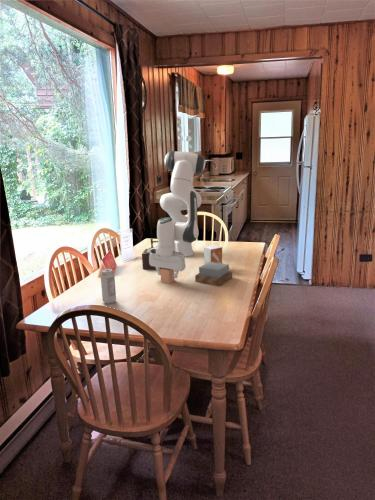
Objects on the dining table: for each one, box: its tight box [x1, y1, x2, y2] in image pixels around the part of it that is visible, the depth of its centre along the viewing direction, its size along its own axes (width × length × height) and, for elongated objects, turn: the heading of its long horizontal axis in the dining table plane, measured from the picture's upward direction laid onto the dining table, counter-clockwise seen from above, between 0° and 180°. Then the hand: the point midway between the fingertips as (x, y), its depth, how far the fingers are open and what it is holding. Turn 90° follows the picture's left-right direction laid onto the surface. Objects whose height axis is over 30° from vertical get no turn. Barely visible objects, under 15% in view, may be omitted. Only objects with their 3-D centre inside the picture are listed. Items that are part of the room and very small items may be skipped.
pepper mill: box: [141, 238, 161, 270], centre depth 232 cm, size 16×11×18 cm
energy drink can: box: [100, 268, 117, 304], centre depth 181 cm, size 6×6×15 cm
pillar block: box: [160, 268, 176, 284], centre depth 206 cm, size 5×5×7 cm
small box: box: [203, 244, 223, 265], centre depth 221 cm, size 8×6×13 cm
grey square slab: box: [198, 262, 230, 278], centre depth 206 cm, size 11×11×4 cm
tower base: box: [194, 270, 233, 287], centre depth 207 cm, size 14×14×4 cm
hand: (167, 276), depth 206 cm, fingers open, 8 cm apart
